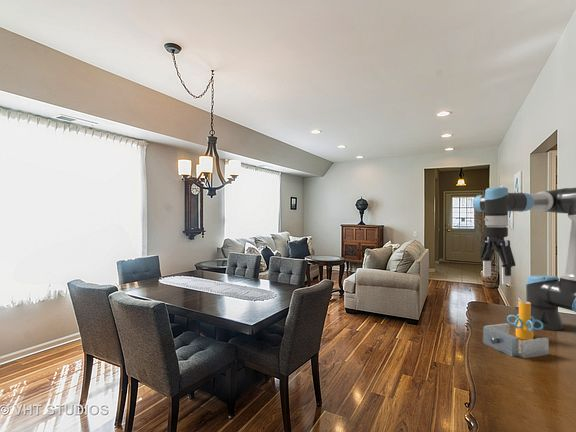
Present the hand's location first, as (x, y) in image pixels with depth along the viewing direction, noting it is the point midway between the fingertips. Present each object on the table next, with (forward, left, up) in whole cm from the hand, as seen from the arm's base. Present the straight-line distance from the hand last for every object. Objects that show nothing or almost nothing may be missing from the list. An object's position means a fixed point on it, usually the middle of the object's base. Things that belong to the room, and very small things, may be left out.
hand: (496, 280), depth 120 cm
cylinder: (-19, -3, -26) cm, 32 cm away
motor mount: (-3, +3, -26) cm, 26 cm away
